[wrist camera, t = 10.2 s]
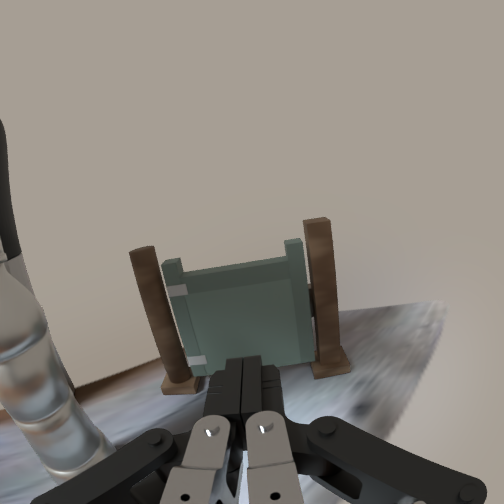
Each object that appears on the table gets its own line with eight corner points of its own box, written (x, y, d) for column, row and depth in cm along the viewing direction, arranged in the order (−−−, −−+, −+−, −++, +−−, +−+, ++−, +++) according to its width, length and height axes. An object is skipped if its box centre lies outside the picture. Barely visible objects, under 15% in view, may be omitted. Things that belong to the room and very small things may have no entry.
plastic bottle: (96, 444, 21) (2, 231, 16) (148, 473, 18) (34, 218, 13) (53, 482, 15) (-70, 258, 10) (101, 523, 12) (-67, 254, 7)
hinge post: (163, 394, 28) (116, 258, 24) (171, 375, 31) (131, 248, 28) (196, 393, 28) (153, 251, 24) (201, 373, 31) (165, 241, 28)
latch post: (307, 380, 27) (289, 228, 23) (302, 357, 31) (284, 220, 28) (350, 372, 27) (342, 220, 23) (340, 350, 31) (329, 213, 27)
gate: (193, 376, 28) (160, 265, 25) (196, 367, 30) (166, 259, 27) (315, 361, 28) (302, 242, 25) (312, 352, 29) (299, 237, 26)
